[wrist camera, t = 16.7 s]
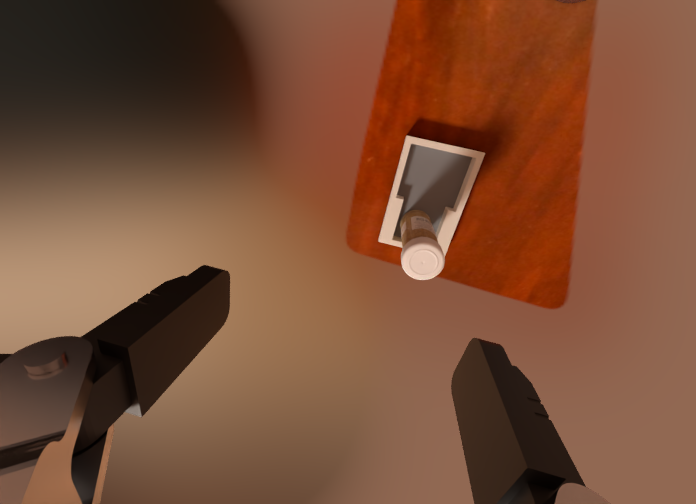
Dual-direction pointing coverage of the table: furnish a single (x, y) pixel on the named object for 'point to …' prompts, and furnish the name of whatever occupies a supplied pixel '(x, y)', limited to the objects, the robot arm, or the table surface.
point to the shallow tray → (430, 187)
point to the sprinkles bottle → (420, 246)
